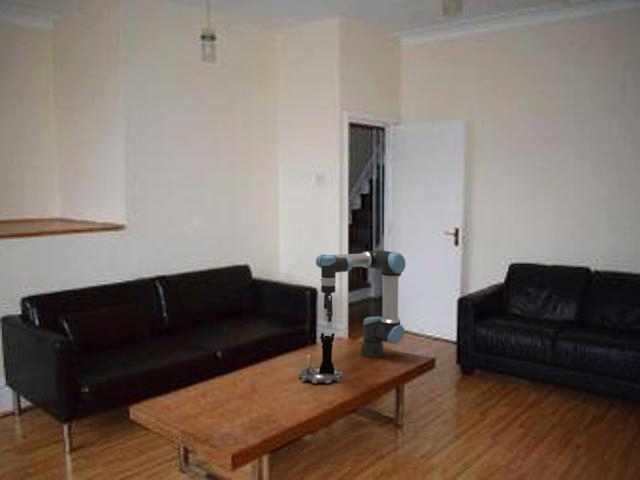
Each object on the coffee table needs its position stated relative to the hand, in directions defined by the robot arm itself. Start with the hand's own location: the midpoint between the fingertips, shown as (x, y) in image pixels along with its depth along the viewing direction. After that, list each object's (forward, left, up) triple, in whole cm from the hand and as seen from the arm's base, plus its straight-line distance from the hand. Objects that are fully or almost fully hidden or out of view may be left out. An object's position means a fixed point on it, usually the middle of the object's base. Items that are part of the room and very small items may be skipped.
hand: (327, 324), depth 307 cm
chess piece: (0, 0, -26) cm, 26 cm away
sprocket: (+3, -3, -28) cm, 29 cm away
